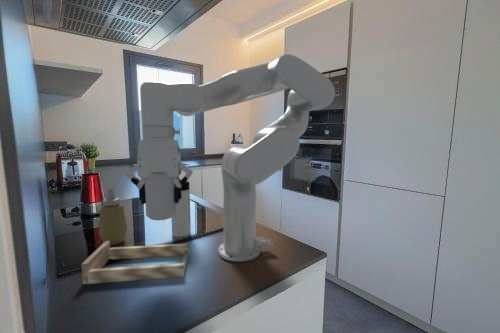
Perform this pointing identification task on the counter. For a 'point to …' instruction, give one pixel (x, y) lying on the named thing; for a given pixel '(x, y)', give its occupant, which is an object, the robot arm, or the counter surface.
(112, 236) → the squeeze bottle
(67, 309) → the counter surface
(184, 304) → the counter surface
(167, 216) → the can
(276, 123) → the robot arm
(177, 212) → the travel mug
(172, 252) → the frame
